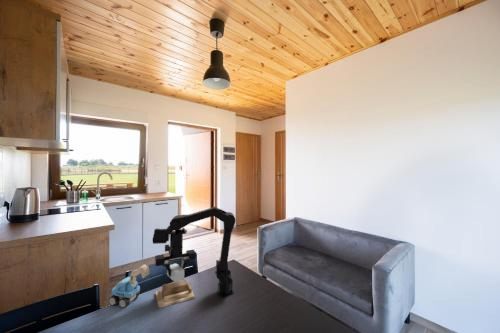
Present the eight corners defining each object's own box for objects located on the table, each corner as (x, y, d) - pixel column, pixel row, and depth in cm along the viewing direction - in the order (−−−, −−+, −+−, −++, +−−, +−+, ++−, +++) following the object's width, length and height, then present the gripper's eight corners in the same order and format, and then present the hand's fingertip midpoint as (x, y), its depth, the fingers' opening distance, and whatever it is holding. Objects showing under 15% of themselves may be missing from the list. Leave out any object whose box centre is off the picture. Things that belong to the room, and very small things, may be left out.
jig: (188, 285, 113) (188, 280, 113) (194, 298, 102) (194, 292, 102) (155, 293, 105) (155, 287, 105) (158, 308, 94) (158, 301, 94)
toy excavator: (139, 311, 92) (140, 271, 92) (106, 305, 95) (107, 266, 95) (152, 299, 100) (153, 262, 100) (121, 294, 104) (122, 258, 104)
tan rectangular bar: (185, 288, 108) (185, 279, 108) (187, 293, 104) (187, 284, 104) (162, 294, 103) (162, 284, 103) (163, 299, 99) (163, 289, 99)
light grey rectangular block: (167, 275, 105) (167, 265, 105) (175, 272, 108) (176, 263, 108) (175, 282, 99) (175, 272, 99) (184, 279, 102) (184, 269, 102)
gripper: (191, 235, 115) (191, 264, 115) (153, 240, 106) (153, 271, 106) (197, 241, 105) (196, 273, 105) (156, 248, 96) (155, 282, 96)
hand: (175, 274), depth 103 cm, fingers closed on light grey rectangular block, 5 cm apart
